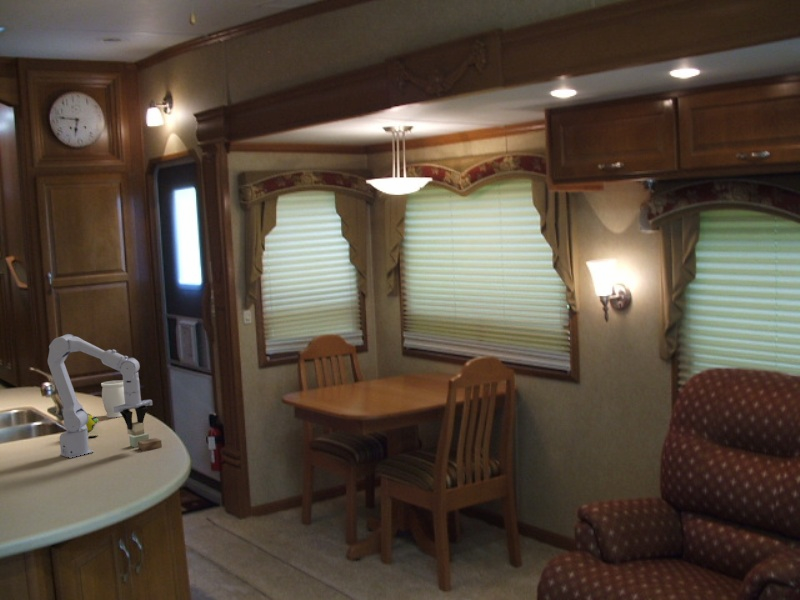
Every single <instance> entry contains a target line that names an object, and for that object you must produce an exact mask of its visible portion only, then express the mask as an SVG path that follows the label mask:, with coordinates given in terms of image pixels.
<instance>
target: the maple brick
mask: <svg viewBox="0 0 800 600" xmlns="http://www.w3.org/2000/svg"><path fill="white" fill-rule="evenodd" d="M126 430H127V435H129V436H132V435H134V436H138V435H143V434H144V433H145V425H144V422H143V423H140V422H137V421H136V420H135V421H132V430H130V429H128V427H127V426H126Z"/></svg>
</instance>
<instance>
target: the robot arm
mask: <svg viewBox="0 0 800 600" xmlns="http://www.w3.org/2000/svg"><path fill="white" fill-rule="evenodd" d="M48 349H49V350H48V357H47V365H48V367H49V370H50V373H51V377H52V378H53V382H54V384H55V388H56V390H57V392H58V396H59V398H60V401H61V404H62V407H63V410H62V417H63V421H62V422H63V423H62V424H63V427H64V428H65V430H66V431H65V432H62V433H61V434H60V436H59V445H60V454H59V455H60V456H62V457H64V458H65V457H66V458H68V457H69V459H73V458H77V457H80V455H81V456H85V455H88V453H89V454H92V452H93V453H95V451H94V450H93V449H92V450H91V449H90V445H89V443H90V442H89V437H88V436H89V433H88V430H87V426H86V424H87V422H88V420H89V416H88V414H87V413H88V412H87V411H86V410H85V409H84V407H83V405H82V404H81V403H80V402H79V400H78V397H77V395H76V393H75V389H74V386H73V383H72V381H71V378H70V376H69V372H68V370H67V367H66V364H65V361H66V360H67V358H68V357H69V354H71V353H74V352H75V353H76V352H82V353H84V354H87V355H89V356H92V357H94V358H97V359H99V360H100V361H101V363H102V364H103V365H105V366H106V367H109V368H111V369H113V370H116V371H118V372H119V373H120V374H121V375H122V380H123V387H124V399H125V404H123V405H119V406H116V407H114V412H115V413H118V412H120V413H121V415H122V418H123V419H124V421H125V425H126V428H127V427H128V429H130V430H132V422H133V411H131V410H135V413H136V419H137V421H136V422H140V423H144V420H145V417H146V413H147V411H148V407H149V406H153V400H152V399H144V400H142V397H141V384H140V378H139V370H140V367H141V366H140V362H139V361H138V360H137V359H136V358H135V357H129V356H127V355H123V354H121V353H119V352H117V350H116V349H107V350H104V349H102V348H100V347H98V346H96V345H95V344H93V343H90V342H88V341H85V340H84V339H82V338H80V337H79V336H74V335H73V334H71V333H70V334H69V333H67V334H66V333H65V334H64V335H62V336H59V337H56V338H54V339H53V340H52V341H51V342H50V344H49V346H48ZM147 406H148V407H147ZM84 454H85V455H84ZM76 456H77V457H76ZM72 457H73V458H72Z"/></svg>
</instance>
